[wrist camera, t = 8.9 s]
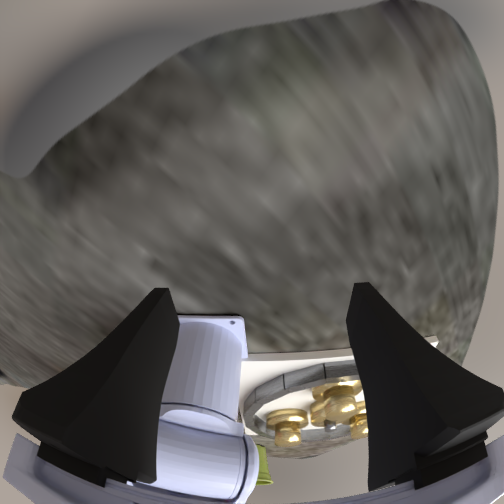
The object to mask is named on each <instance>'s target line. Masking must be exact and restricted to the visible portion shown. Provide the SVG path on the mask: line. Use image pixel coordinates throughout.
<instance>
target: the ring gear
mask: <svg viewBox="0 0 504 504" xmlns="http://www.w3.org/2000/svg"><path fill="white" fill-rule="evenodd" d="M356 380H360V378H359V374H358V370H357V367H356V363H355V360H345V361H336V362H324V364H323V363H320V364H317V365H313V366H310V367H306V368H302V369H299V370H295V371H291V372H287V373H284V374H281V375H279V376H278V377H276V378H274V379H272V380H270V381H268V382H266V383H264V384H262V385H260V386H258V387H256V388H255V389H254V390H253V391H252V393H251V394H250V395H249V396H248V397H247V399H246V400H245V401H244V409H243V417H244V421H245V426H246V427H247V428H248V429H250V430H251V431H253V432H255V433H256V434H258V435H260V436H263V437H267V438H271V439H275V431H273V430H270V429H268V428H267V427H266V422H264V421H263V420H262V419H260V418H259V417H258V416H257V415H255V413H256V412H257V411H258V410H259V409H260V408H261V407H262V406H263V405H264V404H267V403H269V402H271V401H274V400H276V399H278V398H280V397H283V396H285V395H287V394H289V393H292V392H297V391H301V390H305V389H309V388H313V387H317V386H321V385H324V384H330V383H340V382H348V381H356ZM336 427H337V430H335V431H333V432H325V430H324V428H320V429H309V430H302V429H301V442H312V441H322V440H330V439H335V438H339V437H343V436H347V435H351V431H350V425H344V424H341V425H337V426H336Z"/></svg>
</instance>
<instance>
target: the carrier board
mask: <svg viewBox="0 0 504 504" xmlns="http://www.w3.org/2000/svg"><path fill="white" fill-rule="evenodd" d="M424 339H426V340H427V341H428V342H429V343H430V344H431V345H433V346H434V347H436V345H437V344H438V342H439V341H438V339H437V337H436V335H435V336H430V337H424ZM345 360H354V356H353V353H352V349H351V348H348V349H337V350H325V351H311V352H294V353H263V354H248V358H242V362H241V376H240V390H239V409H240V413H241V417H242V421H243V424H244V429H245V433H246V434H247V435H258V434H256V433H255V432H253V431H251V430H250V429H248V428H247V427H246V426H245V421H244V417H243V409H244V401H245V400H246V399H247V397H248V396H249V395H250V394H251V393H252V391H253V390H254V389H255V388H256V387H258V386H260V385H262V384H264V383H266V382H268V381H270V380H272V379H274V378H276V377H278V376H279V375H281V374H284V373H287V372H291V371H295V370H299V369H302V368H306V367H310V366H313V365H317V364H320V363H323V364H324V362H336V361H345ZM355 399H356V402H360V401H364V394H363V389H362V391H361V392H360V393H359V394H358V395H356V396H355ZM315 401H316V400H314V399H313V396H312V388H309V389H305V390H301V391H297V392H292V393H289V394H287V395H285V396H283V397H280V398H278V399H276V400H274V401H271V402H269V403H267V404H264V405H263V406H262V407H261V408H260V409H259V410H258V411H257V412H256V413H255V415H257V416H258V417H259V418H260V419H262V420H263V421H264V422H266V416H267V414H268V413H270V412H272V411H275V410H279V409H286V408H296V409H302V410H305V411H306V412H307V413H308V421H309V424H308V425H307V426H306V427H305V428H302V430H309V429H320V428H324V427H315V426H313V425H311V419H310V405H311V404H312V403H314V402H315ZM341 424H342V423H340V424H337V425H341ZM337 425H336V426H337Z"/></svg>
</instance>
